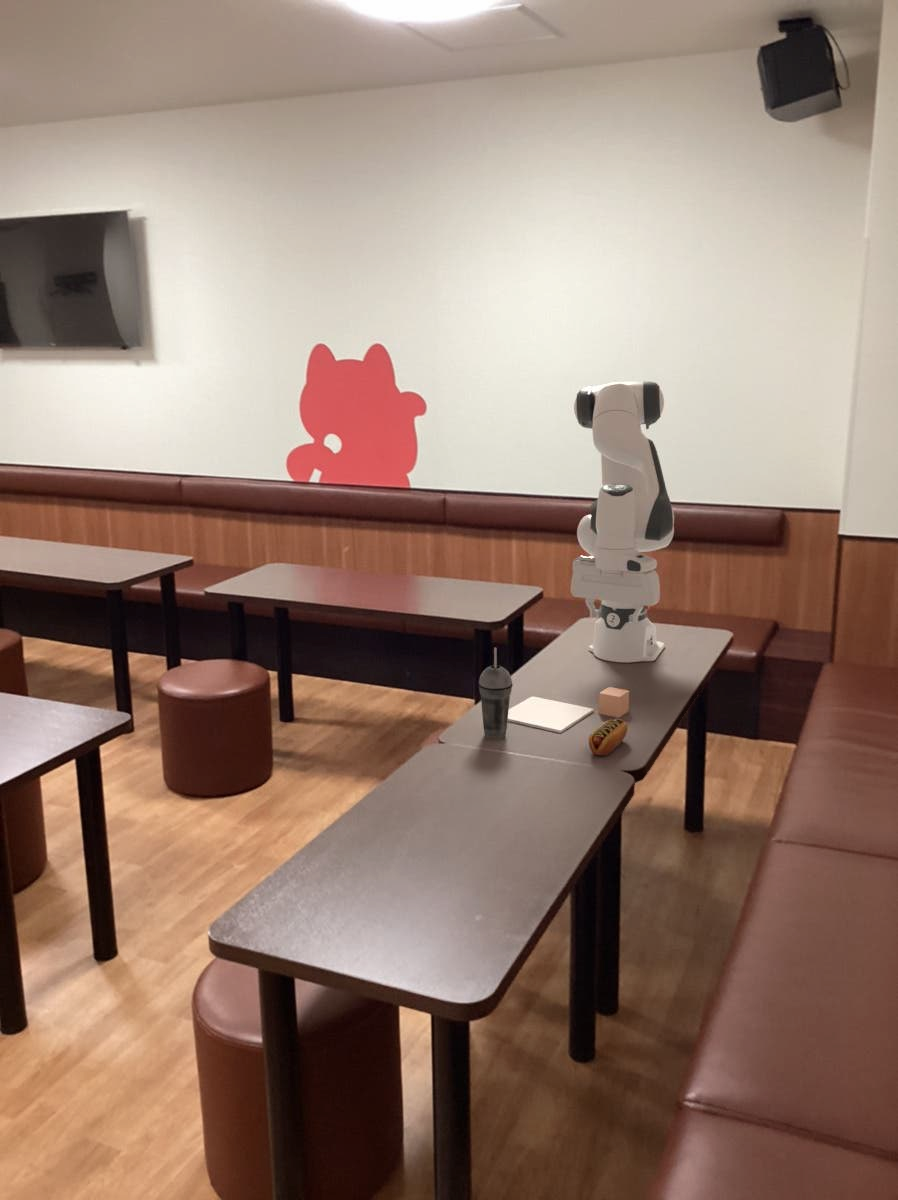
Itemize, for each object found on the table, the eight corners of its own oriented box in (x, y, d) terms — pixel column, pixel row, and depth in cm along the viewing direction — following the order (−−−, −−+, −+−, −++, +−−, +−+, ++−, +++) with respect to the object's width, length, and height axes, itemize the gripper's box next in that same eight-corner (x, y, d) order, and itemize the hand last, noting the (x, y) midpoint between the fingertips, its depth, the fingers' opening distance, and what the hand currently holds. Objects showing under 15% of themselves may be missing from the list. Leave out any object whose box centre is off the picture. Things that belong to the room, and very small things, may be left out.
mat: (532, 698, 246) (532, 696, 246) (593, 711, 237) (593, 708, 237) (496, 718, 233) (496, 716, 233) (560, 733, 224) (560, 730, 224)
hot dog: (582, 756, 212) (583, 733, 211) (607, 735, 223) (608, 713, 222) (605, 761, 210) (606, 738, 208) (630, 740, 221) (630, 718, 219)
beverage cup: (512, 730, 226) (513, 641, 221) (511, 742, 219) (512, 651, 214) (479, 729, 227) (479, 640, 222) (476, 741, 220) (477, 650, 215)
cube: (608, 707, 240) (608, 686, 239) (628, 711, 238) (629, 690, 236) (598, 713, 236) (599, 692, 235) (619, 718, 234) (619, 696, 232)
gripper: (566, 557, 232) (565, 617, 235) (652, 565, 221) (650, 629, 224) (579, 552, 237) (578, 612, 240) (664, 561, 226) (661, 623, 229)
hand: (613, 620), depth 232 cm, fingers open, 8 cm apart
